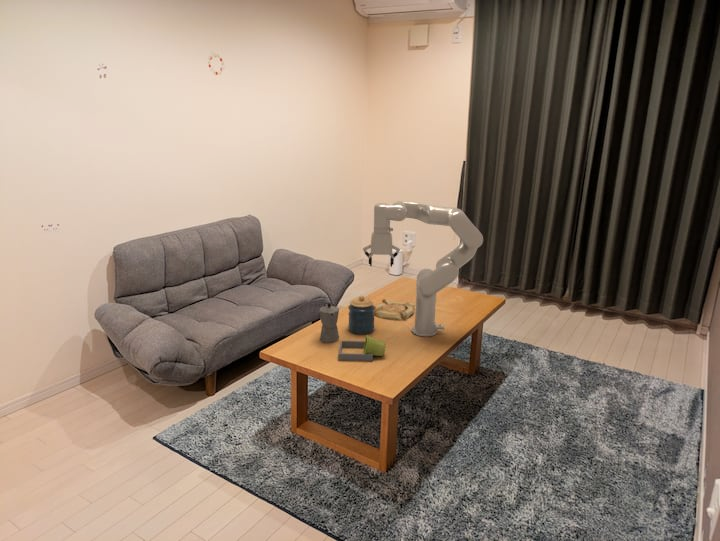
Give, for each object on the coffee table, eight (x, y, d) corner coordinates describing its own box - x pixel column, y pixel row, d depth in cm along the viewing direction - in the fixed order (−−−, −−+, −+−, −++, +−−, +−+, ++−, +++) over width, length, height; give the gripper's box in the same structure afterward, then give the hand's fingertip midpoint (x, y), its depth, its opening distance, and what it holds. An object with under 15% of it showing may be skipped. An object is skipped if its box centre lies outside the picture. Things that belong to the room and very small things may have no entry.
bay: (373, 347, 235) (373, 341, 234) (372, 361, 222) (372, 354, 221) (340, 346, 235) (340, 340, 235) (338, 360, 222) (338, 354, 222)
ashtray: (425, 313, 277) (426, 304, 276) (396, 325, 261) (396, 315, 259) (392, 301, 293) (392, 293, 292) (363, 312, 277) (363, 303, 275)
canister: (373, 335, 248) (374, 300, 243) (347, 334, 249) (347, 300, 244) (374, 324, 260) (375, 291, 255) (349, 323, 261) (349, 291, 256)
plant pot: (387, 337, 223) (368, 334, 222) (384, 359, 221) (364, 355, 220) (384, 339, 232) (365, 336, 231) (381, 360, 230) (362, 356, 229)
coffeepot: (342, 343, 239) (342, 307, 233) (322, 345, 236) (322, 309, 231) (335, 330, 253) (334, 296, 247) (316, 332, 250) (315, 297, 245)
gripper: (400, 229, 242) (399, 263, 247) (363, 228, 242) (363, 263, 247) (400, 232, 235) (399, 268, 240) (362, 231, 235) (362, 267, 240)
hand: (381, 265), depth 243 cm, fingers open, 9 cm apart
